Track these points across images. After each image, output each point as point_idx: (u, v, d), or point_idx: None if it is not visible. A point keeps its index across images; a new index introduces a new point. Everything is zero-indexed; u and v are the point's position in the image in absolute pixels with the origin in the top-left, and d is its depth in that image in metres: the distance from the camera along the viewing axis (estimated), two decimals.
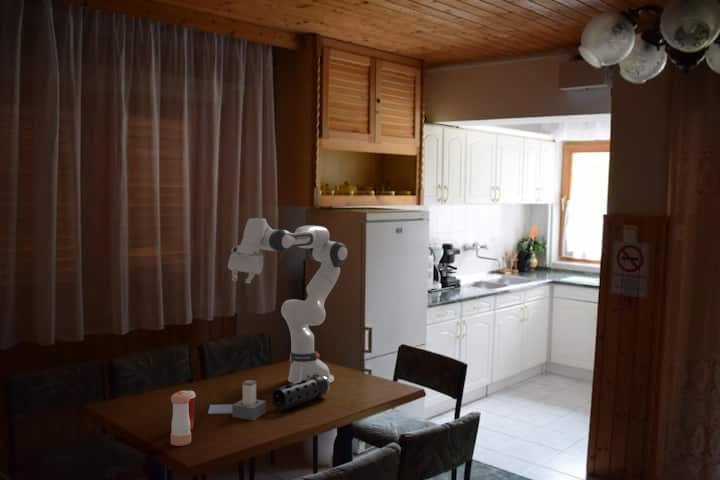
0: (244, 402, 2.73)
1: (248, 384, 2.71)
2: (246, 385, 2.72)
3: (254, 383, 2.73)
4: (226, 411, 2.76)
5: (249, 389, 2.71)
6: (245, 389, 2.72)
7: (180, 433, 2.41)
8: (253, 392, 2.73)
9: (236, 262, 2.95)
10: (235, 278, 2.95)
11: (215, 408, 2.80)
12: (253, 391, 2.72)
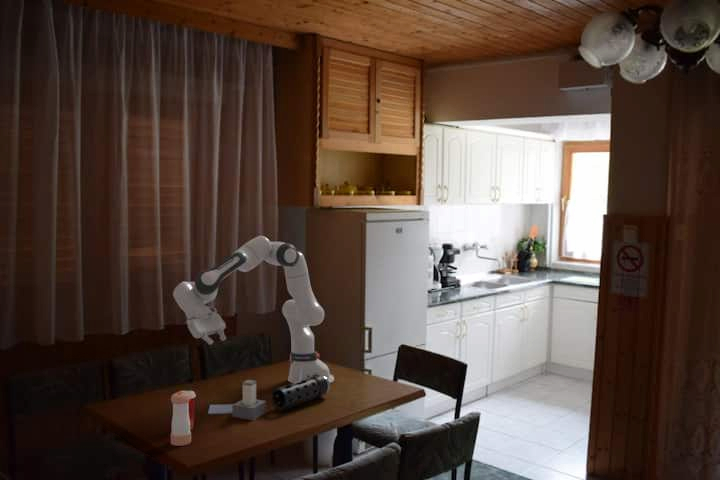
0: (244, 402, 2.73)
1: (248, 384, 2.71)
2: (246, 385, 2.72)
3: (254, 383, 2.73)
4: (226, 411, 2.76)
5: (249, 389, 2.71)
6: (245, 389, 2.72)
7: (180, 433, 2.41)
8: (253, 392, 2.73)
9: None
10: (221, 338, 2.82)
11: (215, 408, 2.80)
12: (253, 391, 2.72)
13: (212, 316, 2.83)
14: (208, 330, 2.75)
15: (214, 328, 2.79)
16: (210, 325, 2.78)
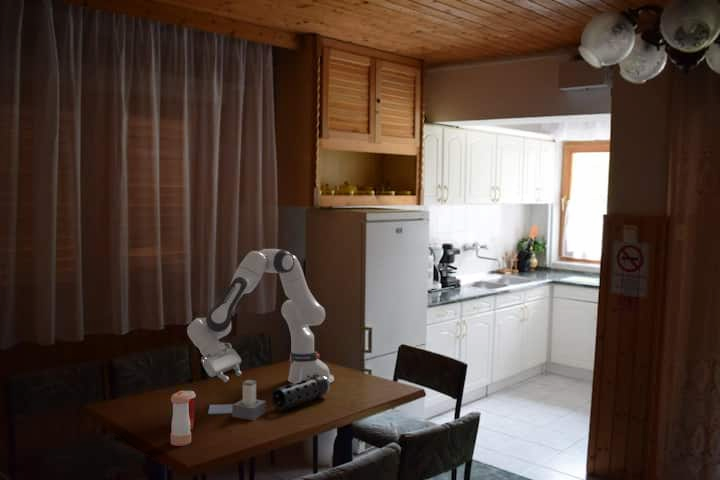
0: (244, 402, 2.73)
1: (248, 384, 2.71)
2: (246, 385, 2.72)
3: (254, 383, 2.73)
4: (226, 411, 2.76)
5: (249, 389, 2.71)
6: (245, 389, 2.72)
7: (180, 433, 2.41)
8: (253, 392, 2.73)
9: None
10: (237, 373, 2.80)
11: (215, 408, 2.80)
12: (253, 391, 2.72)
13: (227, 352, 2.81)
14: (223, 367, 2.73)
15: (229, 364, 2.77)
16: (225, 362, 2.76)
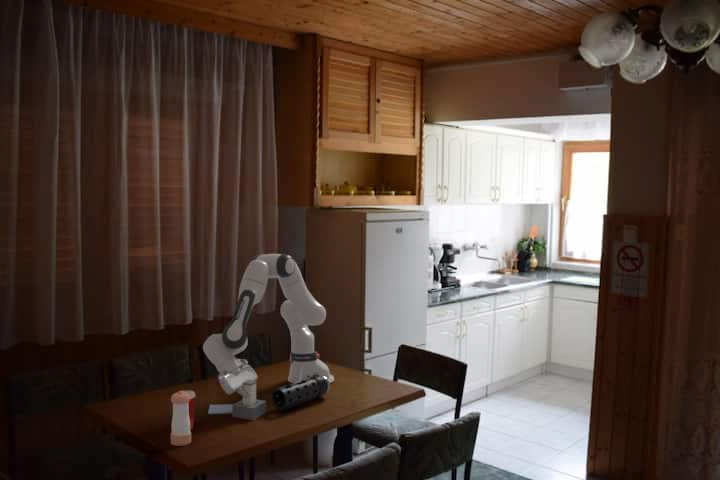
0: (244, 402, 2.73)
1: (248, 384, 2.71)
2: (246, 384, 2.72)
3: (254, 383, 2.73)
4: (226, 411, 2.76)
5: (249, 389, 2.71)
6: (245, 389, 2.72)
7: (180, 433, 2.41)
8: (253, 392, 2.73)
9: None
10: None
11: (215, 408, 2.80)
12: (253, 391, 2.72)
13: (243, 368, 2.79)
14: (240, 385, 2.71)
15: None
16: (241, 379, 2.74)
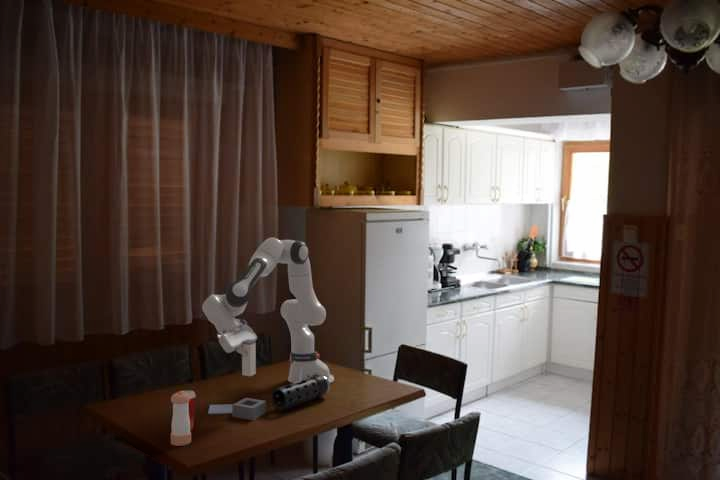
0: (243, 361, 2.71)
1: (247, 343, 2.70)
2: (245, 344, 2.70)
3: (254, 342, 2.72)
4: (226, 411, 2.76)
5: (248, 348, 2.70)
6: (244, 348, 2.71)
7: (180, 433, 2.41)
8: (253, 351, 2.72)
9: None
10: None
11: (215, 408, 2.80)
12: (252, 351, 2.71)
13: (243, 328, 2.78)
14: (239, 343, 2.69)
15: None
16: (241, 338, 2.72)
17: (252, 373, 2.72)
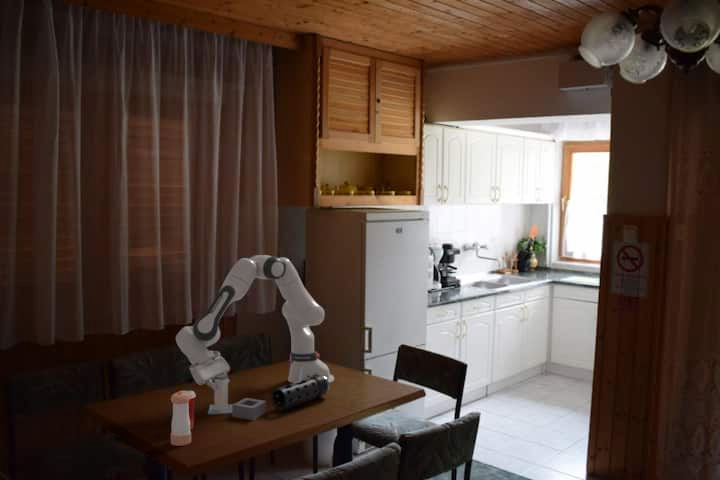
0: (216, 396, 2.78)
1: (219, 378, 2.76)
2: (217, 379, 2.77)
3: (226, 377, 2.79)
4: (226, 411, 2.76)
5: (220, 383, 2.76)
6: (217, 383, 2.77)
7: (180, 433, 2.41)
8: (225, 386, 2.78)
9: None
10: None
11: None
12: (224, 386, 2.78)
13: (216, 360, 2.84)
14: (212, 376, 2.76)
15: (218, 372, 2.80)
16: (213, 370, 2.79)
17: (224, 407, 2.78)
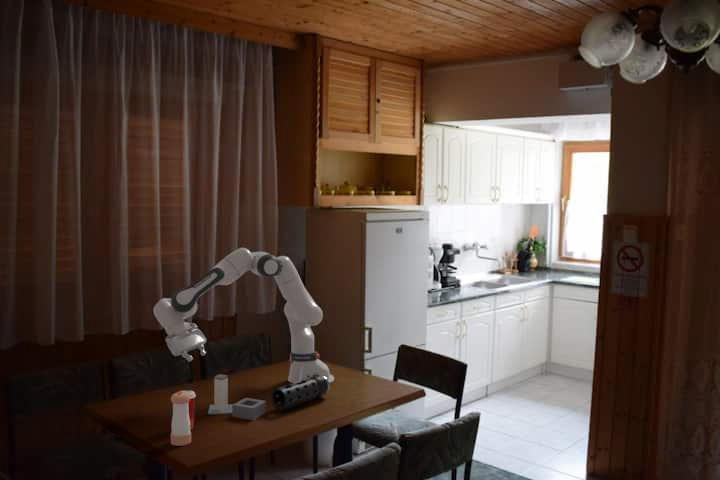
0: (216, 396, 2.78)
1: (219, 378, 2.76)
2: (217, 379, 2.77)
3: (226, 377, 2.79)
4: (226, 411, 2.76)
5: (220, 383, 2.76)
6: (217, 383, 2.77)
7: (180, 433, 2.41)
8: (225, 386, 2.78)
9: None
10: (201, 353, 2.88)
11: None
12: (224, 386, 2.78)
13: (192, 332, 2.89)
14: (187, 347, 2.81)
15: (194, 344, 2.85)
16: (189, 342, 2.84)
17: (224, 407, 2.78)
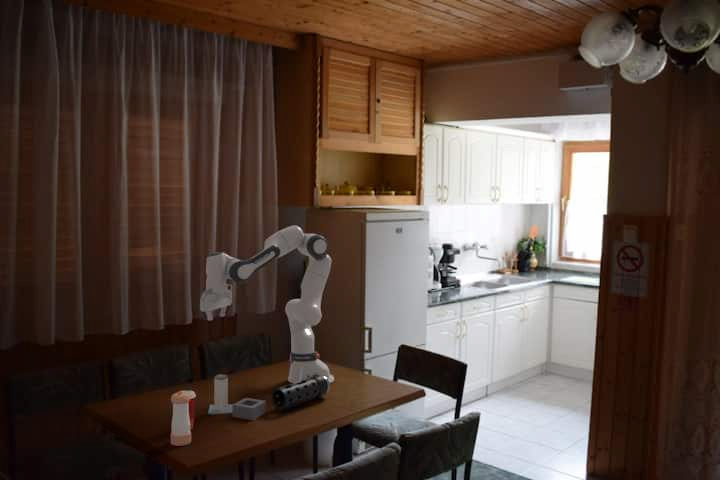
0: (216, 396, 2.78)
1: (219, 378, 2.76)
2: (217, 379, 2.77)
3: (226, 377, 2.79)
4: (226, 411, 2.76)
5: (220, 383, 2.76)
6: (217, 383, 2.77)
7: (180, 433, 2.41)
8: (225, 386, 2.78)
9: None
10: (220, 314, 3.05)
11: None
12: (224, 386, 2.78)
13: (225, 293, 3.03)
14: (214, 308, 2.97)
15: (220, 306, 3.01)
16: (218, 303, 2.99)
17: (224, 407, 2.78)
